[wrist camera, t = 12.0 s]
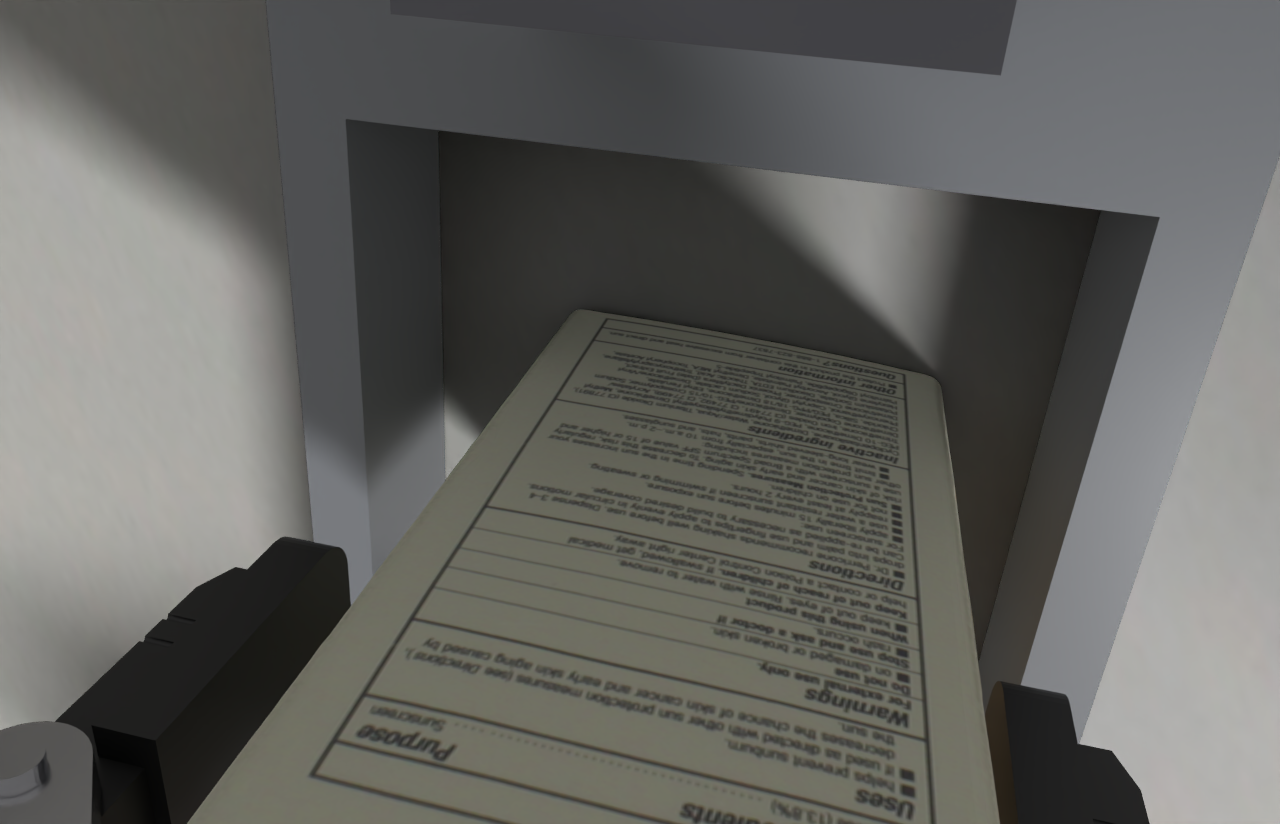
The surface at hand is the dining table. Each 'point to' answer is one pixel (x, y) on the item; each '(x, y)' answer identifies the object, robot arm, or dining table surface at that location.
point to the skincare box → (656, 610)
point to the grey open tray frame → (813, 145)
